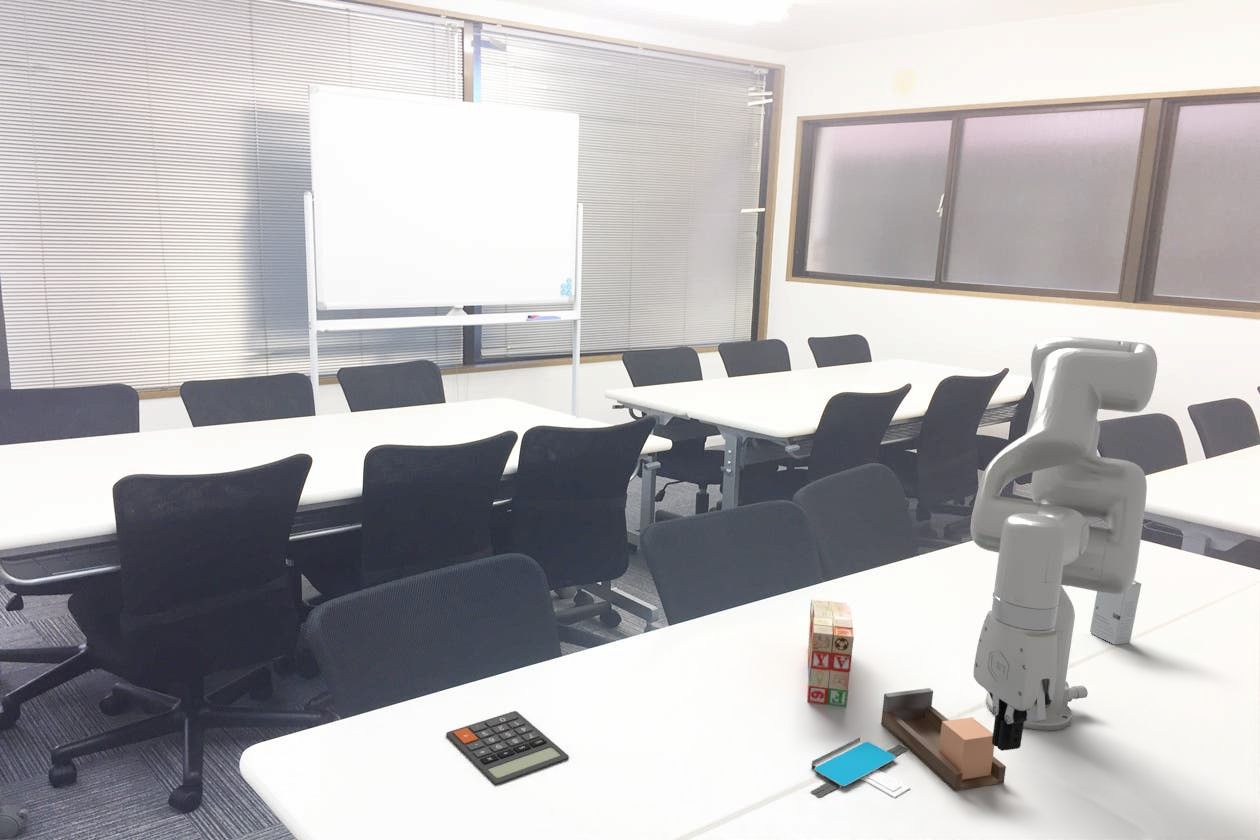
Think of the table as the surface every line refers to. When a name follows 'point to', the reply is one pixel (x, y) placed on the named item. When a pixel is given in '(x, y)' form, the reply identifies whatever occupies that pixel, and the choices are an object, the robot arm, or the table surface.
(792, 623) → the table surface
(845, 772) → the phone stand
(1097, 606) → the skincare box
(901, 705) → the chute
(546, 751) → the calculator
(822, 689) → the stack of blocks
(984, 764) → the block
